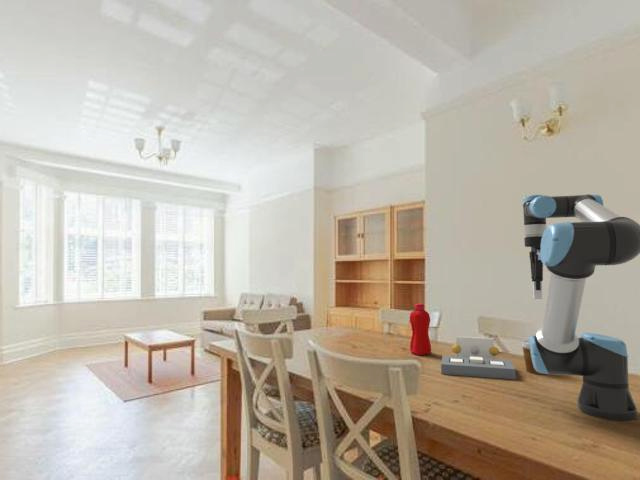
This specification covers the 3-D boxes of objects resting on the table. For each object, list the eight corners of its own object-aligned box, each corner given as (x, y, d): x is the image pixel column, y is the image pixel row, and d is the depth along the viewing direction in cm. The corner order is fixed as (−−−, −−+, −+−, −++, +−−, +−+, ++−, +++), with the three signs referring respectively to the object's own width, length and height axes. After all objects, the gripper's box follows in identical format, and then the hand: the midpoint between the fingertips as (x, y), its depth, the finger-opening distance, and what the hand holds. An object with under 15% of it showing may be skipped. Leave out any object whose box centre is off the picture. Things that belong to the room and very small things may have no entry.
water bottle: (404, 352, 206) (403, 303, 207) (423, 350, 210) (422, 302, 211) (414, 356, 197) (413, 305, 199) (433, 354, 201) (432, 304, 202)
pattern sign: (499, 365, 180) (498, 339, 180) (452, 361, 186) (451, 336, 187) (498, 361, 186) (497, 336, 186) (452, 358, 192) (451, 334, 193)
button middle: (483, 367, 167) (483, 360, 168) (470, 366, 169) (470, 359, 169) (482, 364, 172) (482, 357, 172) (470, 363, 174) (469, 356, 174)
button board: (515, 379, 158) (515, 369, 159) (441, 373, 167) (441, 364, 168) (510, 368, 174) (510, 359, 174) (442, 364, 183) (442, 355, 183)
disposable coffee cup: (552, 375, 164) (551, 345, 165) (529, 375, 164) (527, 345, 165) (540, 368, 173) (539, 340, 174) (518, 368, 174) (517, 340, 174)
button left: (462, 369, 170) (462, 362, 170) (450, 368, 172) (450, 361, 172) (462, 366, 175) (462, 359, 175) (450, 365, 176) (450, 358, 176)
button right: (504, 372, 165) (504, 364, 165) (491, 371, 166) (490, 364, 167) (503, 369, 170) (502, 361, 170) (490, 368, 171) (490, 361, 171)
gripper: (550, 235, 146) (553, 300, 144) (542, 236, 158) (545, 297, 157) (527, 235, 148) (529, 300, 147) (521, 237, 160) (523, 297, 159)
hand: (537, 298), depth 152 cm, fingers closed
